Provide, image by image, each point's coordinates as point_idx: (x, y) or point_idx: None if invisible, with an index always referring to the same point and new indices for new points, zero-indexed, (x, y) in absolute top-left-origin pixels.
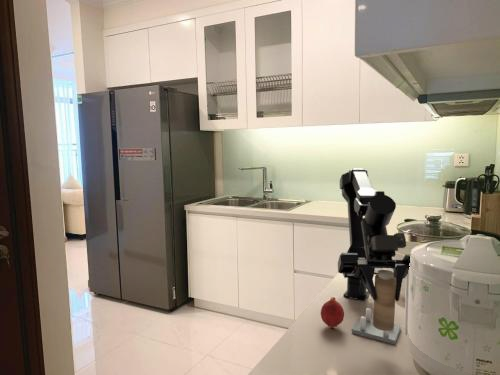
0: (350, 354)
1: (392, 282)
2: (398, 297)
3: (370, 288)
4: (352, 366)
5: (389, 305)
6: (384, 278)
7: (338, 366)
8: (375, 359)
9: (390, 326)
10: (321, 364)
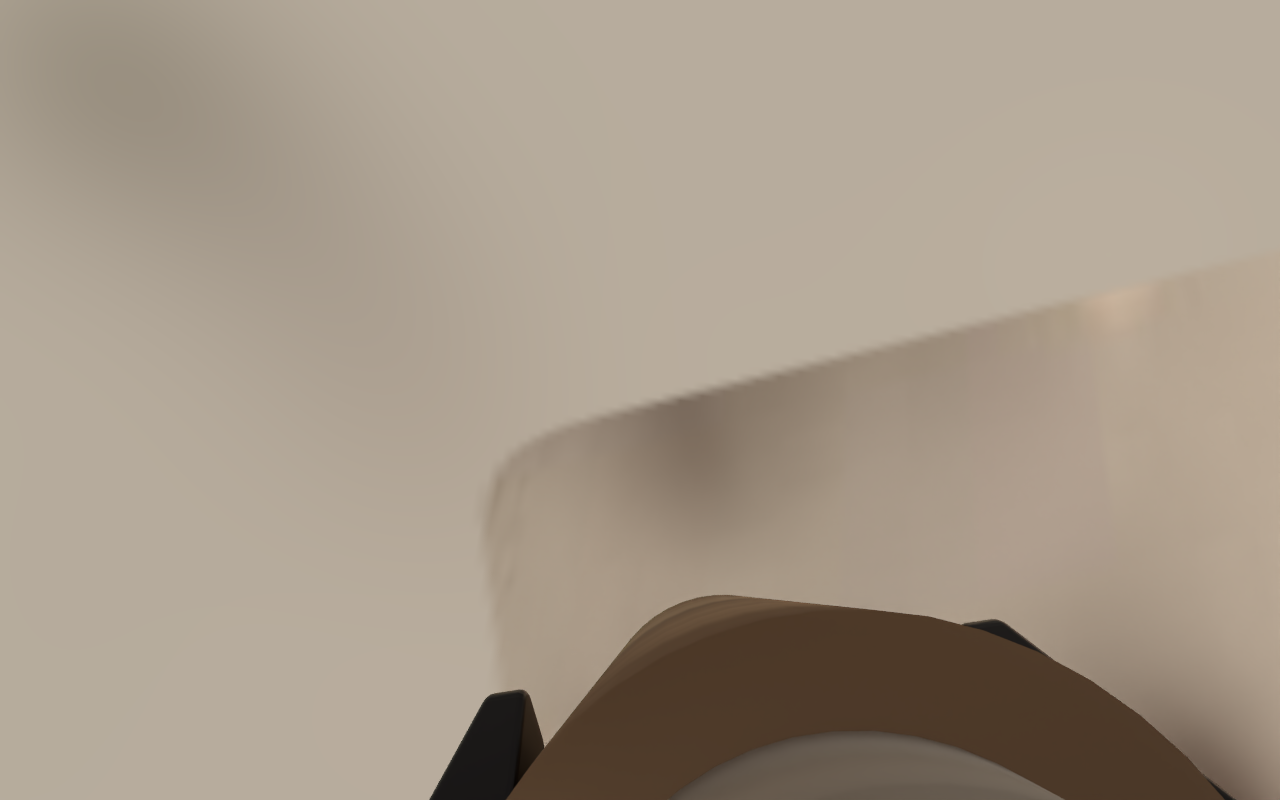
0: (987, 548)
1: (628, 674)
2: (491, 719)
3: (1207, 779)
4: (962, 378)
5: (686, 610)
6: (963, 757)
7: (1070, 352)
8: (778, 522)
9: (655, 617)
10: (1205, 346)
